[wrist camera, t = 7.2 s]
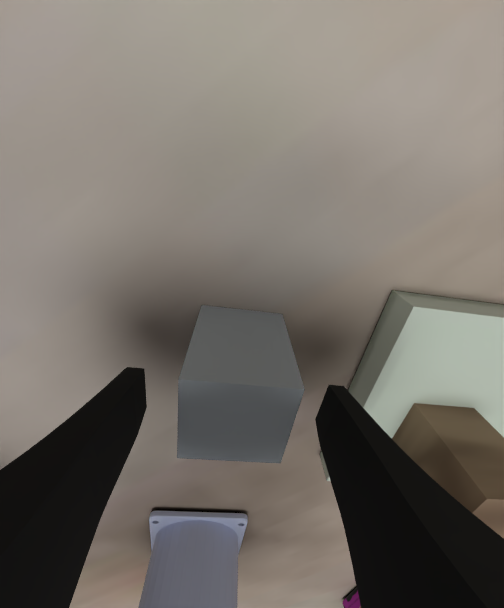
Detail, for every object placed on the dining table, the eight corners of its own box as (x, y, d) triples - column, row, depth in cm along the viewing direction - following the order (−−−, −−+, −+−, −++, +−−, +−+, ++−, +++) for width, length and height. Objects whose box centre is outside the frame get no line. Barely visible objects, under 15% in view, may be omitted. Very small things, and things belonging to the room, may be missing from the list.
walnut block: (442, 448, 17) (512, 543, 13) (388, 445, 17) (441, 542, 12) (474, 407, 15) (568, 502, 11) (414, 402, 15) (487, 499, 10)
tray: (482, 464, 19) (503, 489, 18) (319, 455, 18) (326, 480, 16) (619, 319, 13) (667, 338, 12) (392, 290, 12) (413, 306, 10)
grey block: (268, 373, 14) (280, 463, 10) (197, 367, 14) (177, 458, 9) (282, 313, 12) (304, 389, 8) (201, 304, 12) (178, 379, 8)
